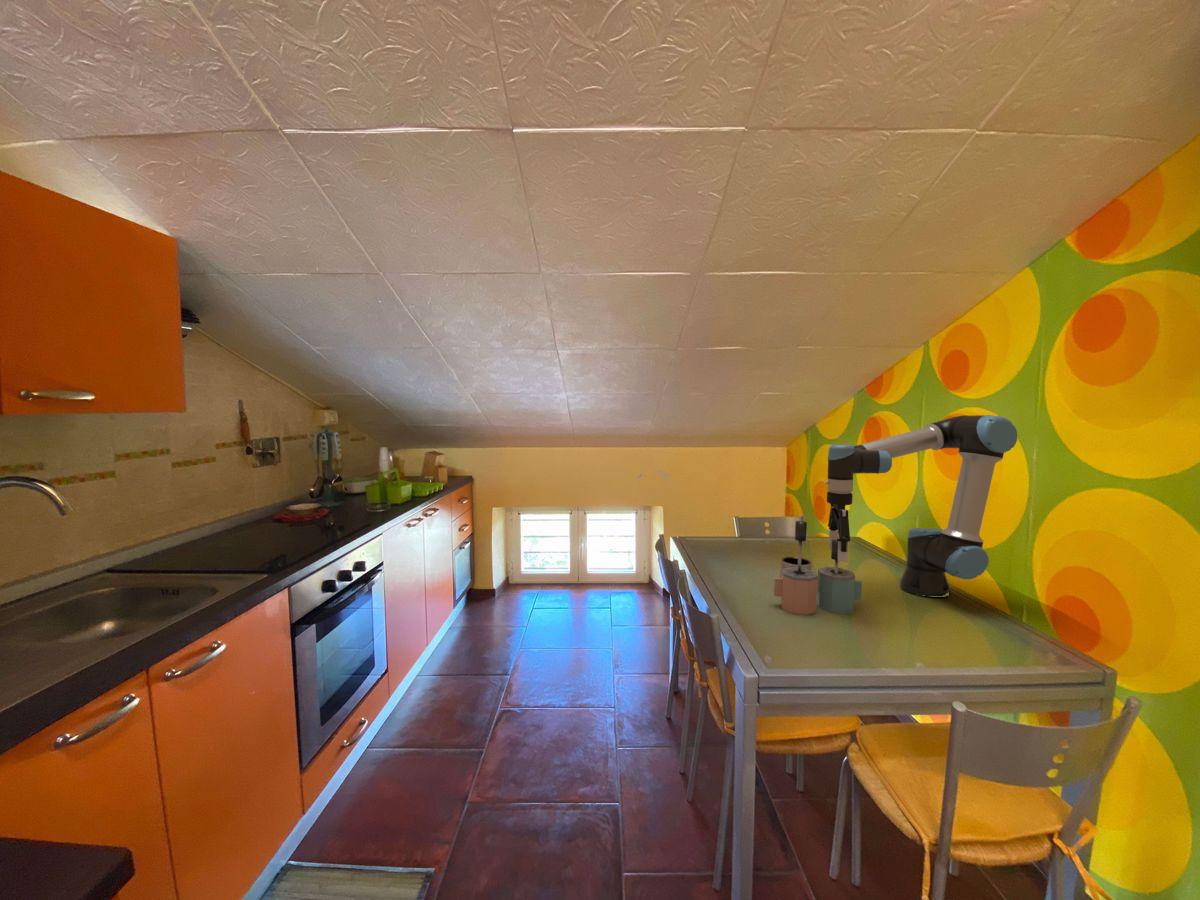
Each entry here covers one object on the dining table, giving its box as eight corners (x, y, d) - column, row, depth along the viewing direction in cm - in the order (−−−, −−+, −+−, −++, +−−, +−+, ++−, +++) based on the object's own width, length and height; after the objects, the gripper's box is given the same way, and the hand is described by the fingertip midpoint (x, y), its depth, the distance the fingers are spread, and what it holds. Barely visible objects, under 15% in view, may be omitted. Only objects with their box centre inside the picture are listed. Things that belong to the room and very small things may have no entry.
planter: (805, 581, 184) (806, 556, 183) (815, 591, 173) (816, 565, 172) (776, 580, 185) (777, 555, 184) (784, 590, 174) (785, 564, 173)
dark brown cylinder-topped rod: (845, 595, 162) (847, 538, 160) (851, 605, 154) (854, 545, 153) (819, 593, 164) (822, 537, 162) (824, 602, 156) (826, 543, 155)
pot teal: (855, 603, 162) (857, 569, 161) (864, 615, 152) (865, 579, 151) (815, 599, 165) (816, 565, 165) (820, 611, 155) (822, 575, 155)
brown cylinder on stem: (809, 577, 160) (812, 520, 159) (814, 586, 153) (816, 525, 151) (784, 575, 163) (786, 518, 161) (787, 583, 155) (789, 523, 153)
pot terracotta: (812, 603, 162) (813, 569, 161) (817, 615, 152) (819, 579, 151) (772, 599, 165) (773, 565, 164) (775, 611, 155) (776, 575, 154)
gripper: (820, 485, 169) (818, 544, 171) (835, 497, 145) (833, 565, 147) (843, 486, 167) (841, 545, 169) (862, 498, 143) (860, 567, 145)
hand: (837, 555), depth 158 cm, fingers open, 13 cm apart
